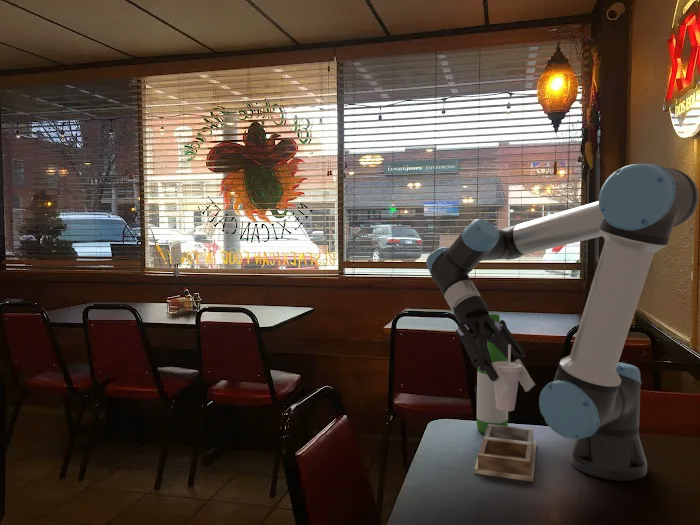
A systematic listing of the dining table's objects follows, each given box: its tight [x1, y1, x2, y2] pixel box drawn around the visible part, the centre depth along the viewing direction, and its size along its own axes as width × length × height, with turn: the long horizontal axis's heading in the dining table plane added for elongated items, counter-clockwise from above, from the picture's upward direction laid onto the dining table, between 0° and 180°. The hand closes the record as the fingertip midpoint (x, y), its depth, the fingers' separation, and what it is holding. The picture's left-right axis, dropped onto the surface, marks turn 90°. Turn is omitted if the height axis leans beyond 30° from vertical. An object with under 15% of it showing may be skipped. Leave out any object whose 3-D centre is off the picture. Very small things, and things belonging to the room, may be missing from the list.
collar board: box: [473, 424, 537, 483], centre depth 128 cm, size 12×21×4 cm, turn 160°
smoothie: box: [492, 344, 522, 412], centre depth 123 cm, size 6×6×14 cm
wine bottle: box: [476, 313, 509, 435], centre depth 145 cm, size 8×8×30 cm
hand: (518, 390), depth 120 cm, fingers closed on smoothie, 6 cm apart
